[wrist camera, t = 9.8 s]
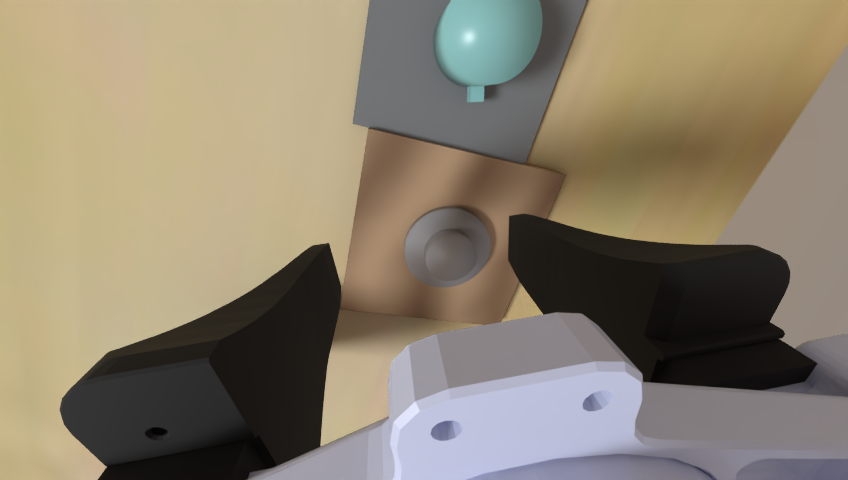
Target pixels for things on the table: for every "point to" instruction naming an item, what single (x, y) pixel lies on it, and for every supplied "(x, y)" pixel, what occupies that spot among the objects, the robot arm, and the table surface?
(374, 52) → the mat
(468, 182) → the post board
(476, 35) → the teal ovoid with tab
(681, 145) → the table surface
